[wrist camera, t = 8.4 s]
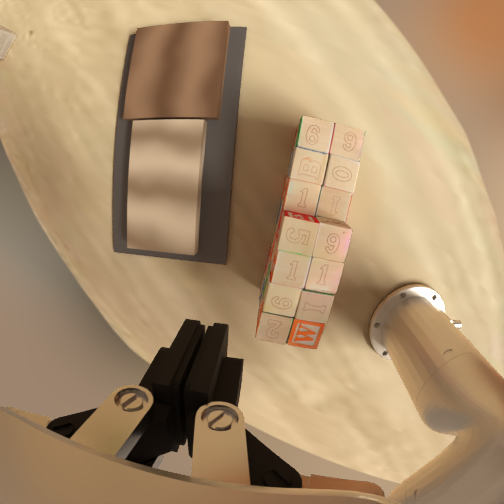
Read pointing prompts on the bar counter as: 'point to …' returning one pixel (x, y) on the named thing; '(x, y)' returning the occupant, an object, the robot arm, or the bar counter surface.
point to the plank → (165, 185)
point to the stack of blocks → (310, 234)
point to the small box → (6, 41)
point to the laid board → (177, 71)
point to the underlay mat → (214, 167)
